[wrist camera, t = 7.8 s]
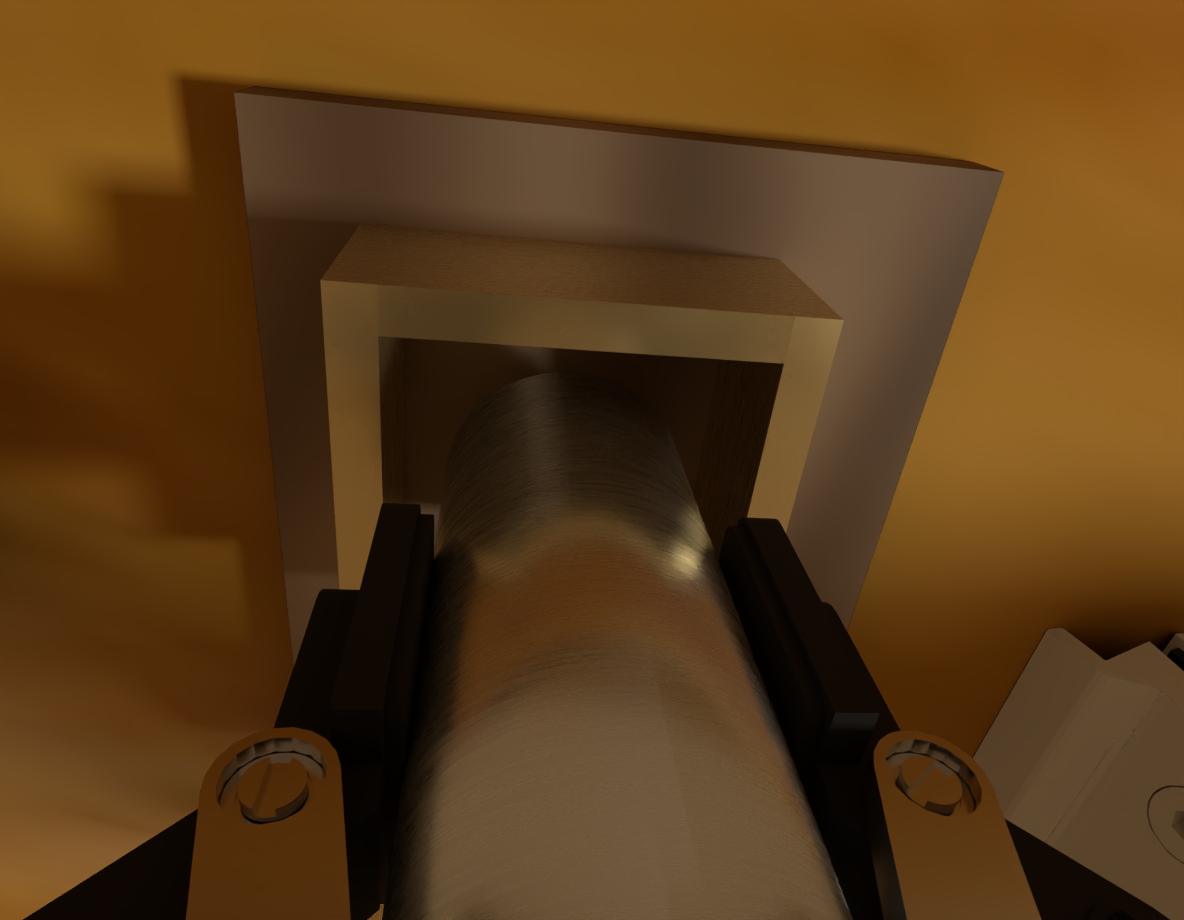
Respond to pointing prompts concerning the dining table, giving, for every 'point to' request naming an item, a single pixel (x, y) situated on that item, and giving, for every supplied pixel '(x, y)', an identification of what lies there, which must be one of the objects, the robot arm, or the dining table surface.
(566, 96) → the dining table surface
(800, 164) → the base board
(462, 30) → the dining table surface
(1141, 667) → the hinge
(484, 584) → the beige cylindrical canister
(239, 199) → the dining table surface
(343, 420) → the square socket board
